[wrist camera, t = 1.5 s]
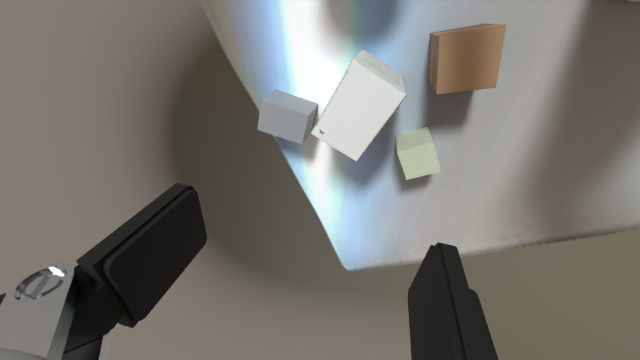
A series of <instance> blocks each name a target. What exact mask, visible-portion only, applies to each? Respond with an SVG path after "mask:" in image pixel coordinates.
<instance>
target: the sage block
mask: <svg viewBox="0 0 640 360" xmlns="http://www.w3.org/2000/svg"><path fill="white" fill-rule="evenodd" d="M396 143H397V154H398V157H399V160H400V162H401V165H402V168H403V171H404V174H405V177H406V180H409V179H413V178H417V177H421V176H425V175H429V174H433V173H437V172H441V170H440V166H439V162H438V158H437V154H436V151H435V147H434V143H433V140H432V137H431V135H430V132H429V129H428V126H427V127H424V128H420V129H417V130H414V131H411V132H408V133H405V134H402V135H398V136H396Z"/></svg>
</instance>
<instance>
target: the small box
mask: <svg viewBox="0 0 640 360" xmlns="http://www.w3.org/2000/svg"><path fill="white" fill-rule="evenodd" d="M405 97H406V91H405V87H404V83H403V79H402V75H401V73H399V72H398V71H396V70H395V69H393V68H392V67H390V66H389V65H387V64H386V63H384V62H383V61H381V60H380V59H378V58H377V57H375V56H374V55H372V54H371V53H369V52H368V51H366V50H365V49H362V50H361V51H360V52H359V53H358V54H357V55H356V56H355V57H354V58H353V59H352V60H351V62H350V64H349V66H348V68H347V70H346V72H345V74H344V76H343V78H342V80H341V82H340V83H339V85H338V87H337V89H336V90H335V92H334V94H333V96H332V97H331V99H330V101H329V103H328V104H327V106H326V108H325V110H324V111H323V113H322V115H321V117H320V118H319V120H318V122H317V123H316V125H315V127H314V128H313V130H312V131H311V134H312V135H314V136H315V137H317V138H319V139H320V140H322V141H323V142H325V143H327V144H328V145H330V146H332V147H333V148H335V149H337V150H338V151H340V152H341V153H343V154H345V155H346V156H348V157H350V158H351V159H353V160H355V161H358V160H359V158H360V157H361V156H362V154H363V153H364V152H365V150H366V149H367V148H368V146H369V145H370V144H371V142H372V141H373V140H374V138H375V137H376V136H377V134H378V133H379V132H380V130H381V129H382V128H383V126H384V125H385V124H386V122H387V121H388V120H389V118H390V117H391V116H392V114H393V113H394V112H395V111H396V109H397V108H398V106H399V105H400V104H401V102H402V101H403V100H404V98H405Z"/></svg>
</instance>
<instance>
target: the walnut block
mask: <svg viewBox="0 0 640 360" xmlns="http://www.w3.org/2000/svg"><path fill="white" fill-rule="evenodd" d="M505 29H506V25H502V24H479V25H474V26H468V27H463V28H457V29H451V30H446V31H440V32H435V33H430V53H429V79H428V82H429V84H430V85H431V87H432V88H433V90H434V91H435V93H436V95H437V94H445V93H454V92H462V91H471V90H479V89H488V88H496V83H497V77H498V71H499V65H500V59H501V53H502V47H503V41H504V35H505Z"/></svg>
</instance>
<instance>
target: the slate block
mask: <svg viewBox="0 0 640 360" xmlns="http://www.w3.org/2000/svg"><path fill="white" fill-rule="evenodd" d="M317 106H318V104H317V103H314V102H311V101H308V100H305V99H302V98H299V97H296V96H293V95H290V94H287V93H284V92H281V91H278V90H275V91H274V92H272V93H271V94H269V95H268V96H266V97H264V98H263V99H261V106H260V114H259V123H258V130H261V131H263V132H266V133H269V134H272V135H275V136H278V137H280V138H283V139H286V140H289V141H292V142H295V143H298V144H301V145H302V144H303V142H304V141H305V139H306V138H307V136H308V135H309V133H310V132H311V130H312V126H313V122H314V118H315V114H316V110H317Z"/></svg>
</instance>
